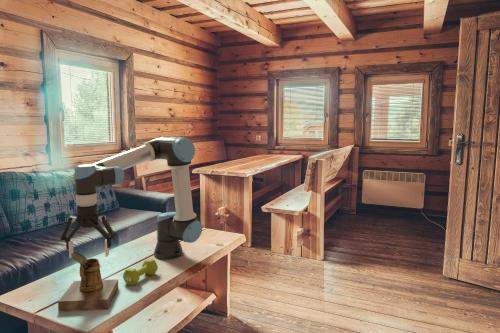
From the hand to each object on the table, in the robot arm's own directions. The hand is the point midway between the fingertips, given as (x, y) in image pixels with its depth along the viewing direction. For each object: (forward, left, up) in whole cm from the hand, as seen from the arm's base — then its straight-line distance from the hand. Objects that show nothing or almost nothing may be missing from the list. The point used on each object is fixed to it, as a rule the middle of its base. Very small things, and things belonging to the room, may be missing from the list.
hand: (89, 256), depth 148 cm
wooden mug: (+1, 0, -14) cm, 14 cm away
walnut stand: (0, 0, -18) cm, 18 cm away
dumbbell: (-17, -18, -18) cm, 31 cm away
